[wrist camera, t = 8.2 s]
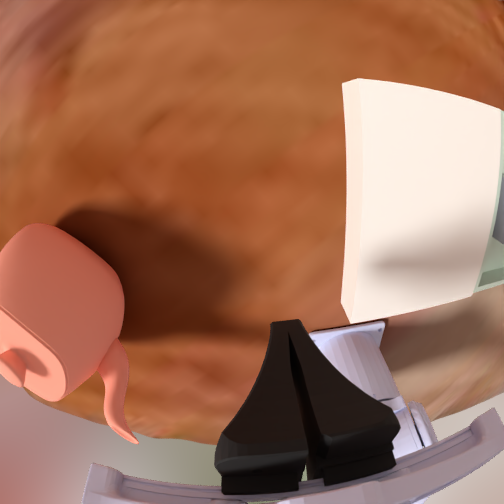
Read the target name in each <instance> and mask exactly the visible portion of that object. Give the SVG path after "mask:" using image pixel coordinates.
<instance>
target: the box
mask: <svg viewBox="0 0 504 504" xmlns="http://www.w3.org/2000/svg"><path fill="white" fill-rule="evenodd" d="M502 173H504V111H501V152H500V167H499V178H498V187H497V195H496V202H495V208H494V214H493V219H492V225H491V229H490V234H489V239H488V243H487V247H486V251H485V255H484V258H483V262H482V266H481V269H480V272H479V276H478V279H477V282H476V285H475V288H474V291H473V293H475V292H478V291H481V290H485V289H488V288H491V287H495V286H498V285H501V284H504V245H503V244H502V243H500V242H499V241H498V240H496V239H495V238H493V237H492V235H493V230H494V226H495V221H496V215H497V210H498V204H499V197H500V190H501V181H502Z"/></svg>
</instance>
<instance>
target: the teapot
mask: <svg viewBox="0 0 504 504" xmlns="http://www.w3.org/2000/svg"><path fill="white" fill-rule="evenodd" d="M123 317H124V294H123V289H122V285H121V283H120V280H119V277H118V275H117V274H116V272H115V271H114V270H113V269H112V267H111V266H110V265H108V264H107V263H106V262H105V261H104V260H103V259H102V258H101V257H99V256H98V255H97V254H96V253H94V252H93V251H92V250H91V249H89V248H88V247H87V246H85V245H84V244H83V243H81V242H80V241H78V240H77V239H75V238H74V237H72V236H71V235H69V234H68V233H66V232H65V231H63V230H61V229H59V228H57V227H55V226H51V225H48V224H43V223H34V224H30V225H27V226H25V227H24V228H23V229H21V230H20V231H19V232H18V233H17V234H15V235H14V237H13V238H12V239H11V240H10V241H9V242H8V243H7V244H6V245H5V247H4V248H3V249H2V251H1V252H0V373H1V374H2V375H3V376H4V377H5V378H6V379H7V380H8V381H9V382H11V383H12V384H14V385H16V386H18V387H23V386H25V387H26V388H28V389H29V390H31V391H32V392H34V393H35V394H37V395H38V396H40V397H42V398H44V399H46V400H48V401H59V400H61V399H62V398H64V397H65V396H67V395H68V394H69V393H71V392H72V391H73V390H75V389H76V388H77V387H78V386H79V385H81V384H82V383H83V382H85V381H86V380H87V379H88V378H89V377H90V376H92V374H93V373H94V372H95V371H96V370H97V371H98V372H99V373H100V375H101V377H102V378H103V381H104V383H105V388H106V393H105V401H104V413H105V417H106V420H107V422H108V424H109V426H110V427H111V428H112V429H113V430H114V431H115V432H116V433H118V434H119V435H120V436H122V437H124V438H125V439H126V440H128V441H130V442H132V443H135V444H139V442H138V440H137V439H136V437H135V436H134V435H133V433H132V432H131V430H130V429H129V427H128V426H127V423H126V420H125V417H124V399H125V394H126V389H127V385H128V379H129V362H128V358H127V355H126V352H125V350H124V348H123V346H122V344H121V343H120V341H119V339H118V337H119V335H120V331H121V328H122V323H123Z"/></svg>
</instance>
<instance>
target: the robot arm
mask: <svg viewBox="0 0 504 504" xmlns="http://www.w3.org/2000/svg"><path fill="white" fill-rule="evenodd" d="M270 327H271V330H270V339H269V344H268V348H267V352H266V355H265V359H264V361H263V364H262V367H261V370H260V372H259V375H258V377H257V379H256V382H255V384H254V386H253V388H252V390H251V391H250V393H249V395H248V397H247V399H246V400H245V402H244V404H243V405H242V407H241V408H240V410H239V411H238V413H237V414H236V415H235V417H234V418H233V419H232V421H231V422H230V423H229V424H228V426H227V427H226V428H225V429H224V430H223V432H222V434H221V436H220V438H219V441H218V444H217V447H216V451H215V463H214V465H215V468H216V469H217V470H218V472H219V473H220V474H221V476H222V483H221V486H201V485H200V486H199V485H187V484H177V483H168V482H161V481H154V480H148V479H142V478H137V477H131V476H127V475H123V474H122V473H121V472H120V471H118V470H116V469H114V468H110V467H107V466H103V465H99V464H96V463H91V466H90V470H89V474H88V478H87V482H86V486H85V490H84V494H83V499H82V503H81V504H248V503H247V502H256V501H257V502H258V501H273V500H281V501H279V502H271V503H262V504H423V503H424V502H425V501H426V500H427V498H428V497H429V496H430V495H432V494H434V493H436V492H438V491H440V490H442V489H444V488H446V487H447V486H449V485H451V484H453V483H455V482H456V481H458V480H460V479H462V478H463V477H465V476H467V475H468V474H470V473H472V472H473V471H475V470H476V469H478V468H480V467H481V466H483V465H484V464H485V463H487V462H488V461H490V460H491V459H492V458H493V457H495V456H496V455H497V454H499V453H500V452H501V451H502V450H503V449H504V425H503V423H502V421H501V419H500V417H499V415H498V413H497V412H496V410H495V408H491V409H490V410H488V411H487V412H485V413H483V414H482V415H480V416H478V417H477V418H476V419H475V420H474V421H473V422H472V423H471V424H470V426H468V427H467V428H465V429H463V430H461V431H459V432H457V433H455V434H453V435H451V436H449V437H447V438H445V439H443V440H441V441H439V442H438V440H437V437H436V435H435V432H434V429H433V427H432V425H431V422H430V420H429V418H428V415H427V413H426V411H425V409H424V407H423V406H422V404H421V403H418V402H415V401H411V402H409V403H408V406H409V408H410V411H411V415H412V418H413V420H414V423H415V424H414V423H413V421H412V418H411V416H410V414H409V411H408V409H407V407H406V404H405V402H404V400H403V397H402V396H401V395H400V393H399V391H398V388H397V386H396V384H395V382H394V379H393V377H392V375H391V373H390V371H389V368H388V366H387V364H386V362H385V360H384V358H383V356H382V354H381V352H380V349H379V346H380V343H381V339H382V335H383V332H384V328H385V323H384V321H376V322H371V323H366V324H360V325H355V326H349V327H343V328H337V329H330V330H324V331H317V332H311V333H310V334H308V333H307V331H306V330H305V328H304V326H303V324H302V322H301V321H300V320H299V319H295V320H287V321H278V322H272V323H271V324H270ZM313 340H314V341H313ZM423 446H424V448H423ZM305 465H306V469H307V481H301V479H302V475H303V471H304V470H305Z"/></svg>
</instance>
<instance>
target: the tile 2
mask: <svg viewBox="0 0 504 504" xmlns="http://www.w3.org/2000/svg"><path fill="white" fill-rule="evenodd" d="M492 237H493V238H495V239H496V240H498V241H499V242H500V243H502V244H503V245H504V173H502V181H501V190H500V197H499V204H498V210H497V215H496V221H495V226H494V230H493V235H492Z"/></svg>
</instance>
